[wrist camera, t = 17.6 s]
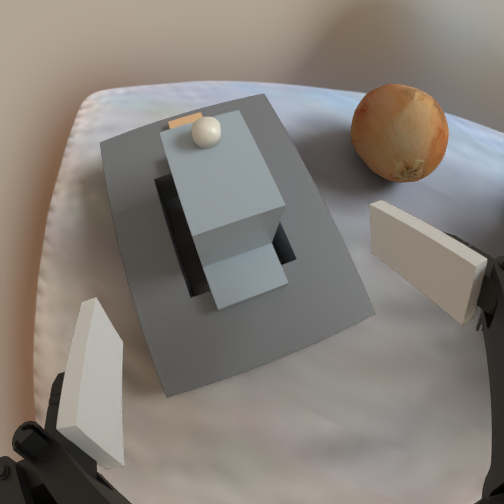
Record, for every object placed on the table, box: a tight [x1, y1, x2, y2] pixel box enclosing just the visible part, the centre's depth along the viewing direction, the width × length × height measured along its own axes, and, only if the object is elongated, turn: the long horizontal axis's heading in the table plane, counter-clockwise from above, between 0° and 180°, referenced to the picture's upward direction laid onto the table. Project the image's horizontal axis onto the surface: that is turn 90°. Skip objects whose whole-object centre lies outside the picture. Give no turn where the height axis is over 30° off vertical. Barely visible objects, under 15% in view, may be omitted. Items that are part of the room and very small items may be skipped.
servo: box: [160, 110, 288, 311], centre depth 21 cm, size 13×5×12 cm, turn 21°
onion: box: [351, 84, 449, 182], centre depth 26 cm, size 10×10×10 cm
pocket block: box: [100, 94, 375, 397], centre depth 25 cm, size 22×16×5 cm
